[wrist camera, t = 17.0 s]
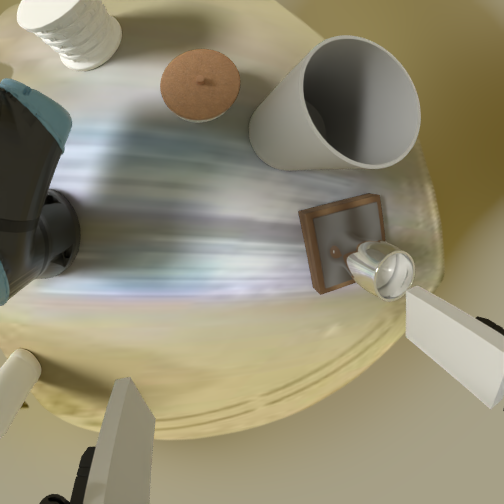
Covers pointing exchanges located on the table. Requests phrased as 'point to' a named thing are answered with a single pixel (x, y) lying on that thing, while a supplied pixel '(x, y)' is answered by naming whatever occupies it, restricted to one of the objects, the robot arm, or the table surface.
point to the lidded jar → (200, 85)
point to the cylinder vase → (338, 110)
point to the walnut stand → (331, 221)
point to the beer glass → (373, 264)
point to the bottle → (16, 384)
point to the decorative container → (73, 30)
